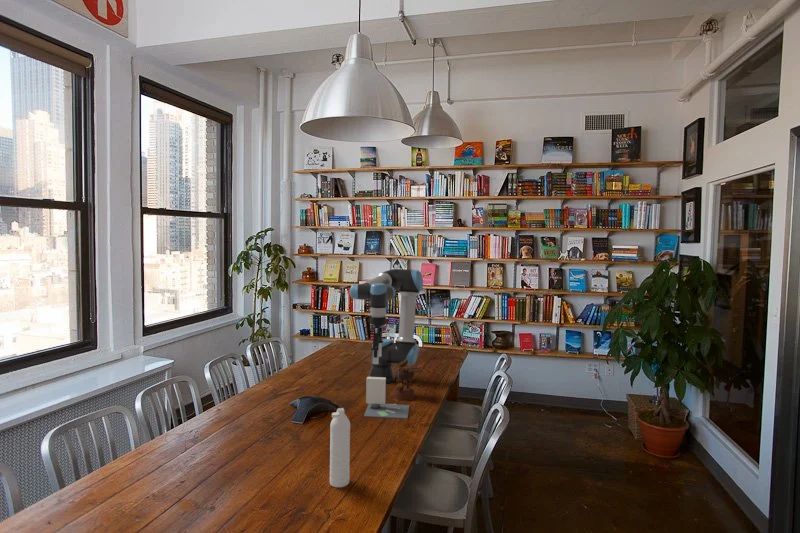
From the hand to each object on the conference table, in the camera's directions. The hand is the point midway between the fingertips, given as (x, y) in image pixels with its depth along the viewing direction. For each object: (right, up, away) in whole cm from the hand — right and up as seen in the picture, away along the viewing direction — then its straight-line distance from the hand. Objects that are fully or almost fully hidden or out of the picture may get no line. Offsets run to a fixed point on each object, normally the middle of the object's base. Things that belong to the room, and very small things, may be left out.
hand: (377, 360), depth 213 cm
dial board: (+5, -24, -2) cm, 24 cm away
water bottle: (-9, -27, -66) cm, 72 cm away
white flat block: (+2, -23, +1) cm, 23 cm away
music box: (+13, -23, +19) cm, 32 cm away
